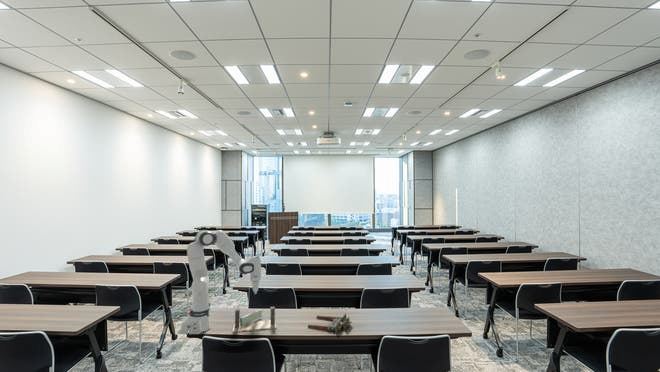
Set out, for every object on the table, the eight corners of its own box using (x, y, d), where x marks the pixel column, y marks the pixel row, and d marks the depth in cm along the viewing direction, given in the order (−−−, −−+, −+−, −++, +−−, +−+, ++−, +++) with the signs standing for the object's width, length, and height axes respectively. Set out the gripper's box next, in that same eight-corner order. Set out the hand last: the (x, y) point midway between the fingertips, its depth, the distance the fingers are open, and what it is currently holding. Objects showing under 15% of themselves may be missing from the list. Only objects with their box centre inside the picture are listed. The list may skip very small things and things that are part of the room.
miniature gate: (318, 311, 254) (354, 313, 245) (319, 318, 254) (355, 321, 244) (305, 325, 229) (344, 328, 219) (306, 332, 229) (345, 336, 219)
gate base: (232, 332, 224) (232, 314, 224) (234, 324, 237) (234, 307, 237) (276, 328, 231) (276, 310, 231) (275, 320, 244) (275, 304, 244)
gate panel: (241, 326, 231) (241, 318, 231) (239, 325, 232) (239, 318, 232) (261, 316, 249) (261, 309, 249) (260, 316, 249) (260, 309, 250)
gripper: (251, 273, 262) (251, 289, 262) (251, 280, 242) (251, 297, 242) (259, 272, 263) (259, 289, 263) (259, 279, 244) (259, 297, 243)
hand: (255, 293), depth 252 cm, fingers closed
